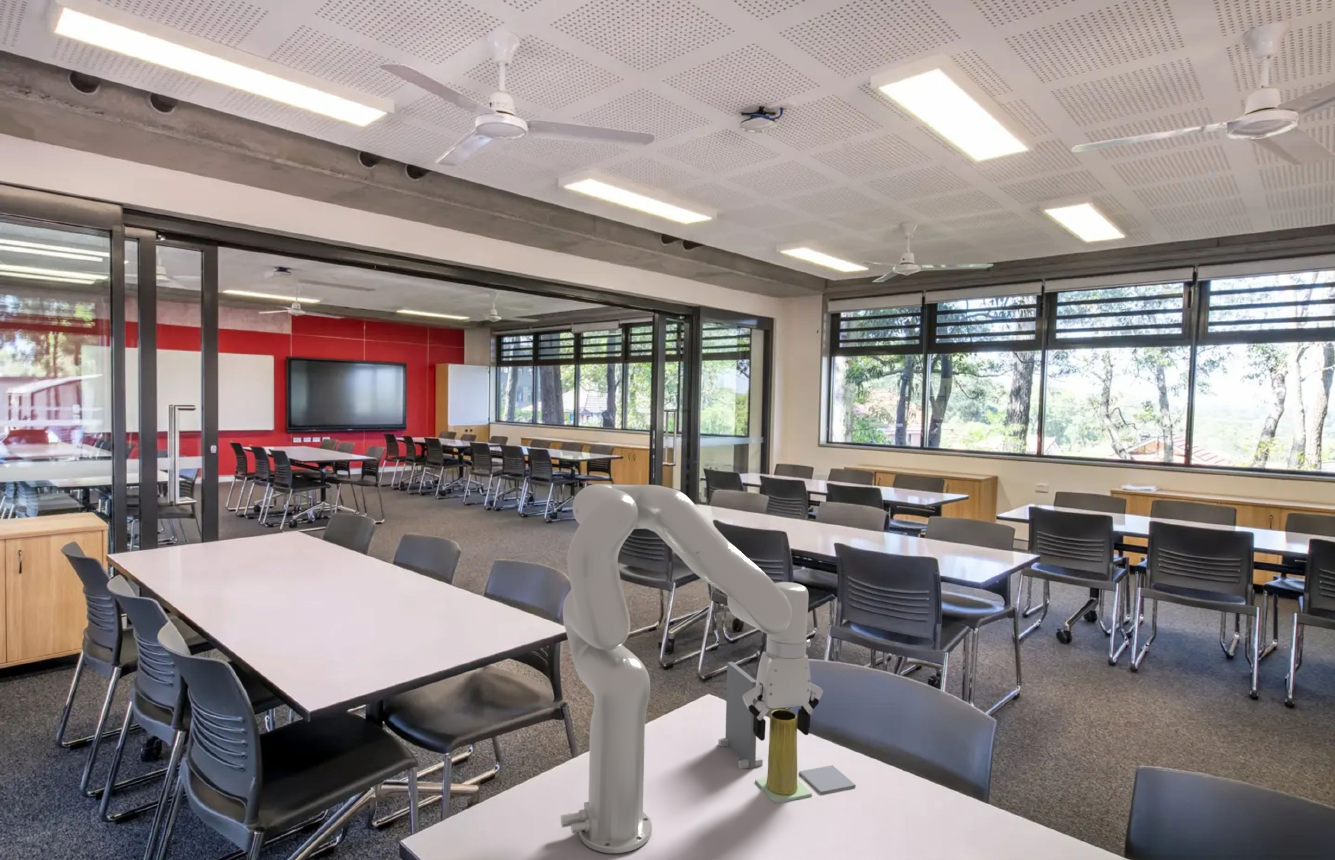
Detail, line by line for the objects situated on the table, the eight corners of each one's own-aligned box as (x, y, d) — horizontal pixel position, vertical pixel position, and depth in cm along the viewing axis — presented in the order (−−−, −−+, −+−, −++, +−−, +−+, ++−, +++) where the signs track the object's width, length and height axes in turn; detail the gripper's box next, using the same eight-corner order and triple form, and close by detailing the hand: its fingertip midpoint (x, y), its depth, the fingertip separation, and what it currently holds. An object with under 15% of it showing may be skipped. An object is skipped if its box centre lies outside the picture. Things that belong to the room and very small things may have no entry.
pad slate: (820, 794, 134) (820, 791, 134) (799, 773, 141) (799, 771, 141) (855, 787, 136) (855, 784, 136) (832, 767, 144) (832, 765, 144)
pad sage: (775, 803, 130) (775, 800, 130) (755, 781, 138) (755, 779, 138) (811, 795, 133) (811, 793, 133) (790, 775, 141) (790, 772, 140)
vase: (768, 794, 132) (770, 720, 132) (764, 778, 138) (766, 707, 138) (800, 795, 132) (802, 721, 132) (794, 779, 138) (796, 708, 138)
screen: (741, 769, 142) (744, 683, 142) (717, 743, 153) (719, 662, 153) (763, 765, 144) (765, 680, 144) (737, 739, 155) (739, 660, 155)
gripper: (813, 638, 141) (809, 722, 141) (737, 644, 135) (732, 730, 135) (834, 650, 134) (830, 738, 134) (755, 656, 128) (750, 748, 128)
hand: (781, 734), depth 135 cm, fingers open, 9 cm apart
